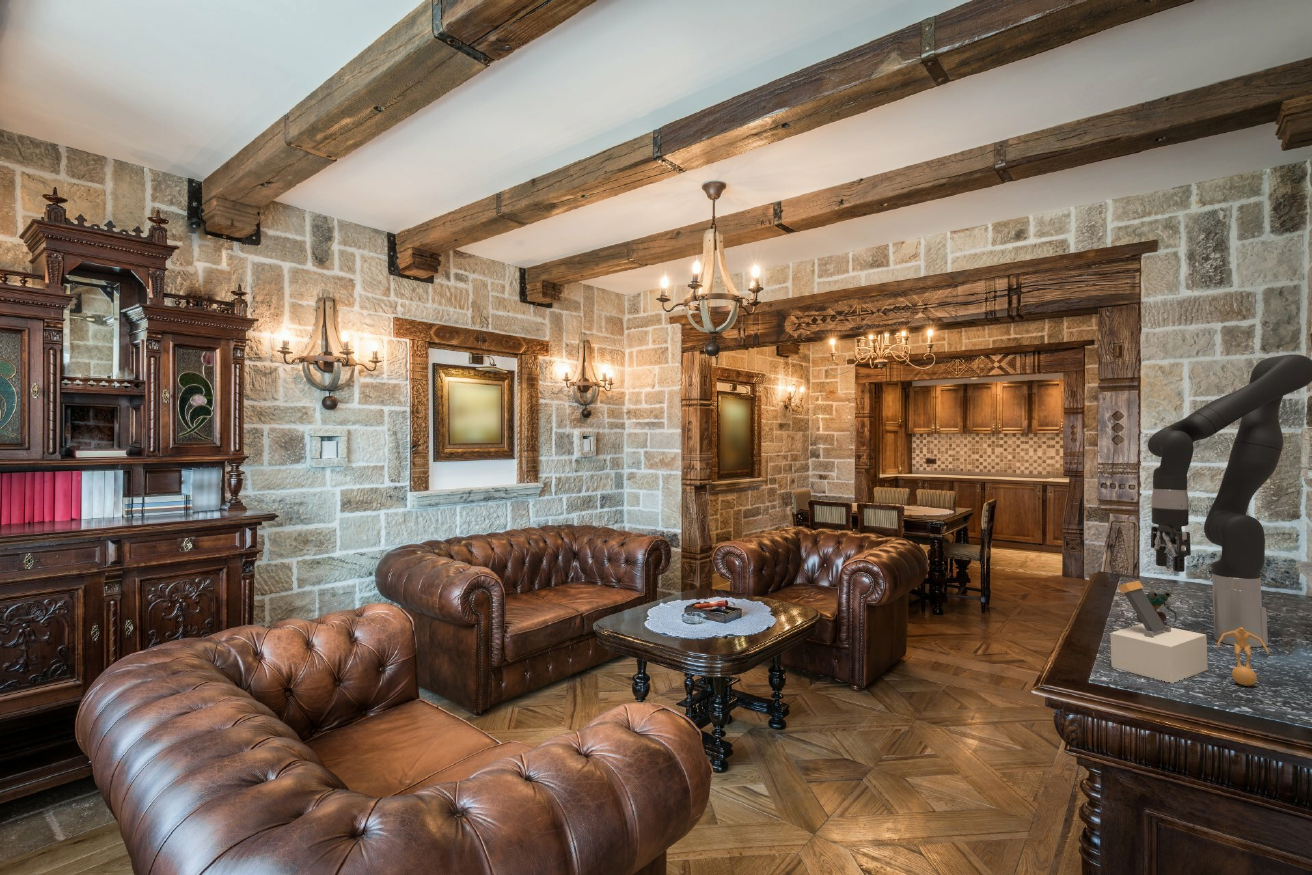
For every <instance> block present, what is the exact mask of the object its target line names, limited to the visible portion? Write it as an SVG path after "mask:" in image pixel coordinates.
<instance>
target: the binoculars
mask: <svg viewBox="0 0 1312 875" xmlns="http://www.w3.org/2000/svg"><path fill="white" fill-rule="evenodd" d="M1145 595H1146V597H1147V598H1148V600H1149V601H1150V603H1151V604H1152V606H1153V608H1154V609H1155V611H1156V612H1157V614H1158V616H1159V617H1160V619H1161V620H1162V622H1163V623H1164V622H1165V621H1167V618H1168V617H1167V615H1166V614H1165V612H1163V611H1157V610H1159V609H1160V608H1161V606H1162V605H1163V606H1164V608H1165V609H1167V610H1168V611H1170V612H1172V613H1173V615H1174V621H1173V623H1171V624H1169V625H1168V626H1170V627H1171V626H1173V625H1175V624H1176V623H1177V620H1178V614H1177V612H1176V611H1175V610H1174V609H1172V608H1171V607H1170V606H1169V605H1168V604H1167V603H1166V602H1167V601H1168V600H1169V598H1170V597H1172V593H1170V592H1169V591H1168V592H1167V591H1166V592H1164V593H1157V592H1155V591H1154V590H1150V591H1148V592H1147V594H1145ZM1136 618H1137V620H1138V621H1139V622H1140V623H1142V622H1141V620H1140V618H1139V617H1138V615H1137V614H1136Z"/></svg>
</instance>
